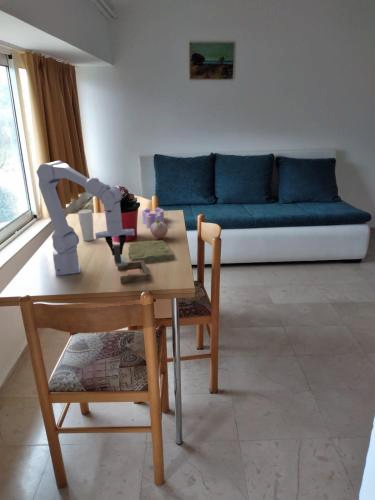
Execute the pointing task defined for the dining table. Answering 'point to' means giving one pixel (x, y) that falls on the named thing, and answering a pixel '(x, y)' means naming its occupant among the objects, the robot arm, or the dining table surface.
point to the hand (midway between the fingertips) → (117, 254)
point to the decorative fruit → (159, 229)
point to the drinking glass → (86, 224)
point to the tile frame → (136, 277)
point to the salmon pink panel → (133, 272)
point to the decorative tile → (149, 251)
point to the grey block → (119, 256)
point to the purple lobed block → (152, 216)
